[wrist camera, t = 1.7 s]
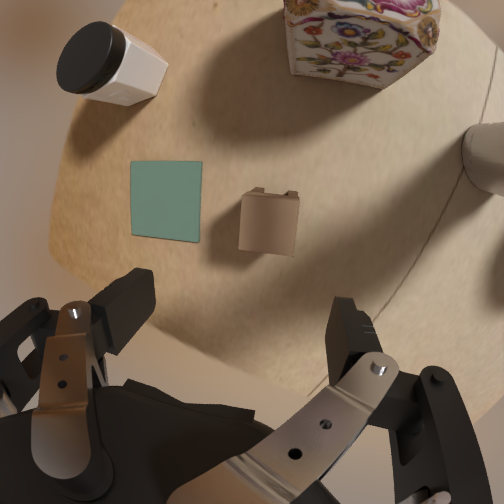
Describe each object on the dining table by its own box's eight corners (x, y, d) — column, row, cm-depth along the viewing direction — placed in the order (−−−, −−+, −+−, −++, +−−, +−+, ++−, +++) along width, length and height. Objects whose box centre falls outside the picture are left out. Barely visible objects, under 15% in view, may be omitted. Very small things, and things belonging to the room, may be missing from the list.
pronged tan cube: (298, 190, 30) (299, 201, 23) (293, 232, 32) (292, 256, 24) (255, 186, 31) (242, 195, 23) (251, 227, 32) (238, 249, 25)
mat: (202, 161, 31) (201, 161, 30) (199, 241, 34) (198, 242, 34) (132, 161, 32) (130, 161, 31) (133, 233, 35) (132, 234, 35)
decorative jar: (383, 17, 20) (434, -60, 4) (387, 92, 24) (469, 40, 8) (290, 1, 22) (279, -94, 5) (286, 75, 26) (274, -10, 9)
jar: (115, 113, 30) (53, 106, 19) (112, 65, 27) (55, 46, 16) (172, 92, 28) (116, 68, 17) (166, 41, 26) (116, 6, 14)
